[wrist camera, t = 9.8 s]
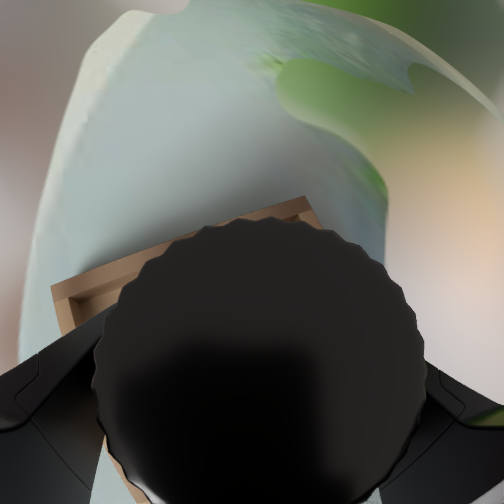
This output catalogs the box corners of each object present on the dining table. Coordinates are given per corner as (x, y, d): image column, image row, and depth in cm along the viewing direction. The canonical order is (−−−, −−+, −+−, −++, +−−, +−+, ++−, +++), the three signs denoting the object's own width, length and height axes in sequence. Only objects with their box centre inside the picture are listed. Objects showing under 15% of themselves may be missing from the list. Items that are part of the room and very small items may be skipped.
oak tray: (152, 499, 12) (146, 516, 10) (67, 295, 16) (50, 286, 14) (379, 399, 17) (401, 402, 14) (293, 214, 20) (304, 195, 18)
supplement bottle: (165, 296, 15) (79, 141, 4) (292, 303, 16) (444, 183, 5) (159, 423, 13) (52, 548, 2) (290, 427, 14) (450, 524, 2)
